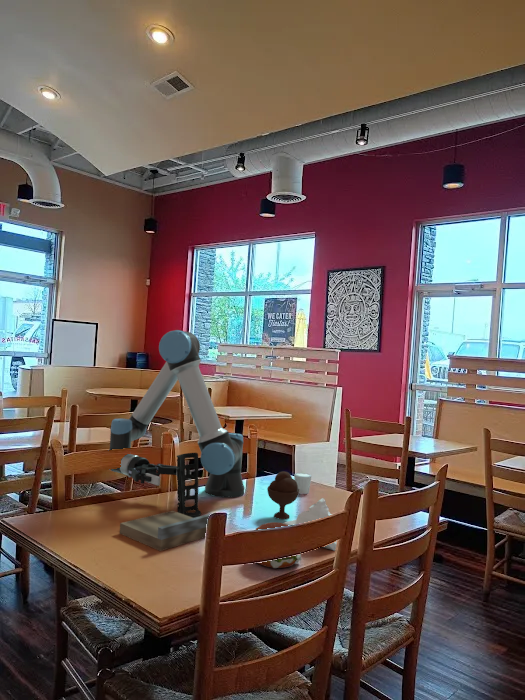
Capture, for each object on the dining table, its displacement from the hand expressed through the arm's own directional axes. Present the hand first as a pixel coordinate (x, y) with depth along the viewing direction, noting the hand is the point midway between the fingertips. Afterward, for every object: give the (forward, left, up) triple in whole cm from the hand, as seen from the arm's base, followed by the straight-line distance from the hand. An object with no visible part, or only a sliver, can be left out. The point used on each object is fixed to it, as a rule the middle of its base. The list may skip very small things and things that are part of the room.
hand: (175, 478), depth 185 cm
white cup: (-58, +12, -11) cm, 60 cm away
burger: (+8, +50, -11) cm, 52 cm away
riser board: (+16, +16, -11) cm, 25 cm away
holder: (-1, +6, -11) cm, 13 cm away
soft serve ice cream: (-12, +49, -11) cm, 51 cm away
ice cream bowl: (-25, +27, -11) cm, 38 cm away
